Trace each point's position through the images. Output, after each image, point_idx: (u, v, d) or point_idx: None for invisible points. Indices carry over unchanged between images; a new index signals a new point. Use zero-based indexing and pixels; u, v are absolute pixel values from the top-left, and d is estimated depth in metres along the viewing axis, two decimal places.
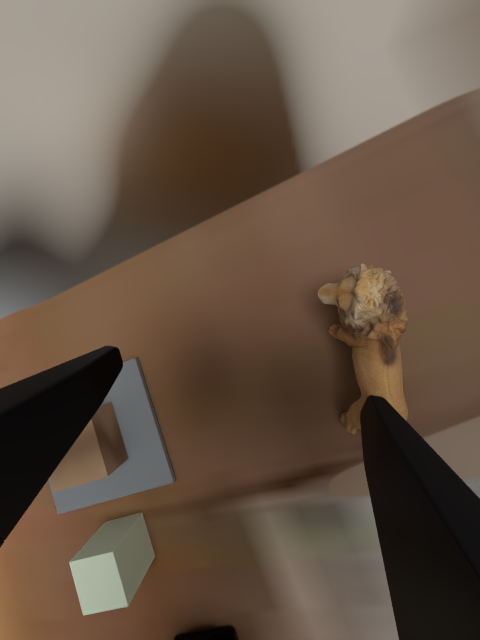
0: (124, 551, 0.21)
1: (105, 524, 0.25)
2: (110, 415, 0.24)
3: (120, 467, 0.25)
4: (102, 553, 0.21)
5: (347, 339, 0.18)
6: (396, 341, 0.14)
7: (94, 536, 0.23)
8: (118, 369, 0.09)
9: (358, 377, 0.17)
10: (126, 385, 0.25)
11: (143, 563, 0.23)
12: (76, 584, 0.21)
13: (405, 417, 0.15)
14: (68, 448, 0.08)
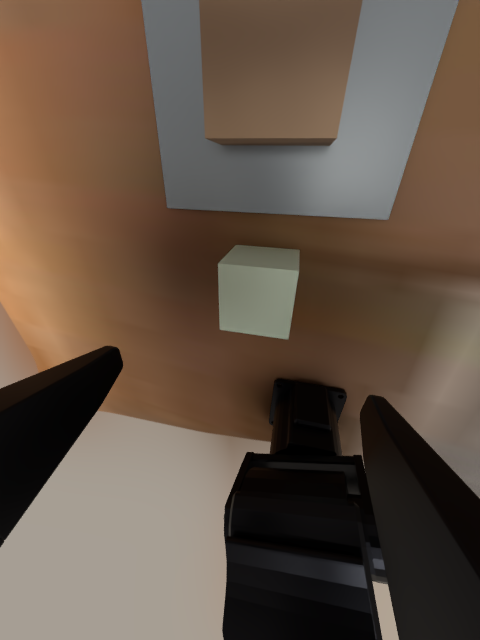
0: None
1: (239, 246, 0.17)
2: None
3: (305, 159, 0.13)
4: (279, 268, 0.13)
5: None
6: None
7: (234, 252, 0.15)
8: (118, 369, 0.09)
9: None
10: None
11: None
12: (220, 294, 0.14)
13: None
14: (68, 448, 0.08)
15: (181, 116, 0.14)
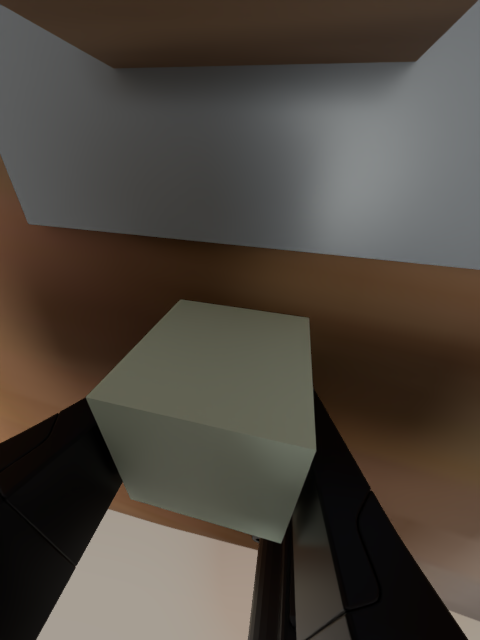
0: None
1: (184, 307, 0.08)
2: None
3: (337, 108, 0.05)
4: (255, 433, 0.04)
5: None
6: None
7: (163, 331, 0.07)
8: None
9: None
10: None
11: None
12: (114, 452, 0.06)
13: None
14: None
15: None
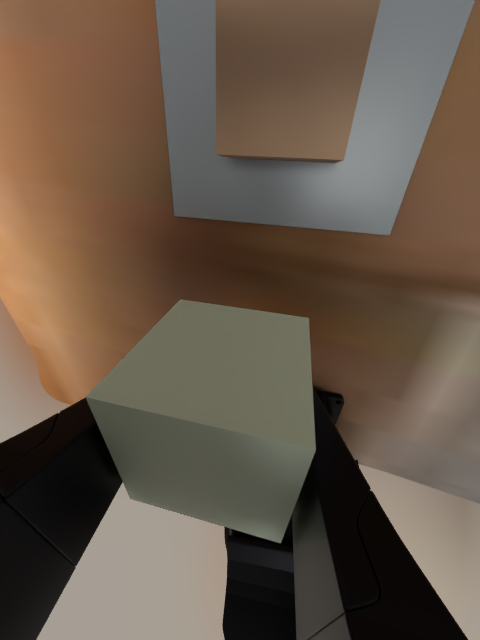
0: None
1: (184, 306, 0.08)
2: None
3: (311, 175, 0.14)
4: (255, 432, 0.04)
5: None
6: None
7: (163, 331, 0.07)
8: None
9: None
10: None
11: None
12: (114, 451, 0.06)
13: None
14: None
15: (191, 128, 0.14)
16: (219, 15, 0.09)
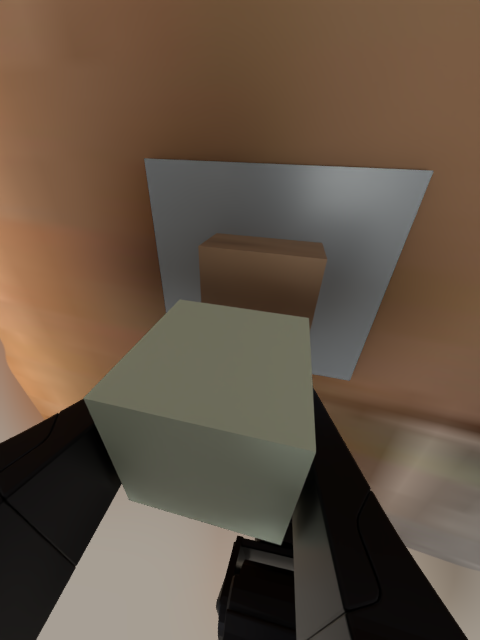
0: None
1: (183, 307, 0.08)
2: None
3: None
4: (255, 434, 0.04)
5: None
6: None
7: (162, 331, 0.07)
8: None
9: None
10: (371, 224, 0.12)
11: None
12: (112, 453, 0.06)
13: None
14: None
15: (184, 298, 0.17)
16: (202, 276, 0.12)
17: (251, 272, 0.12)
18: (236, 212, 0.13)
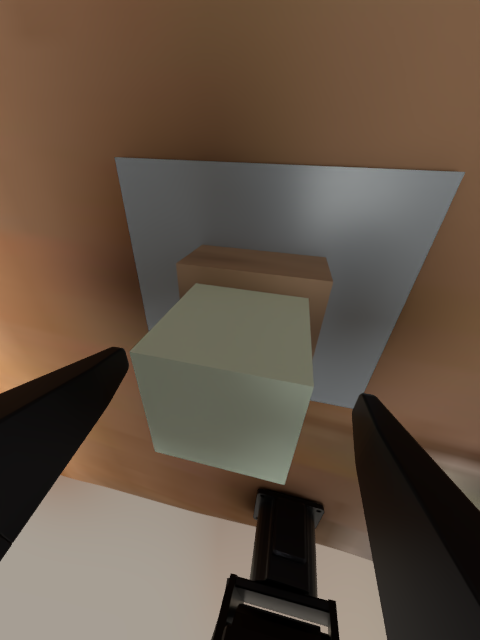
0: None
1: (199, 289, 0.09)
2: None
3: None
4: (266, 375, 0.05)
5: None
6: None
7: (184, 307, 0.08)
8: (124, 370, 0.09)
9: None
10: (385, 236, 0.10)
11: None
12: (146, 403, 0.07)
13: None
14: (74, 450, 0.07)
15: None
16: None
17: None
18: (225, 221, 0.11)
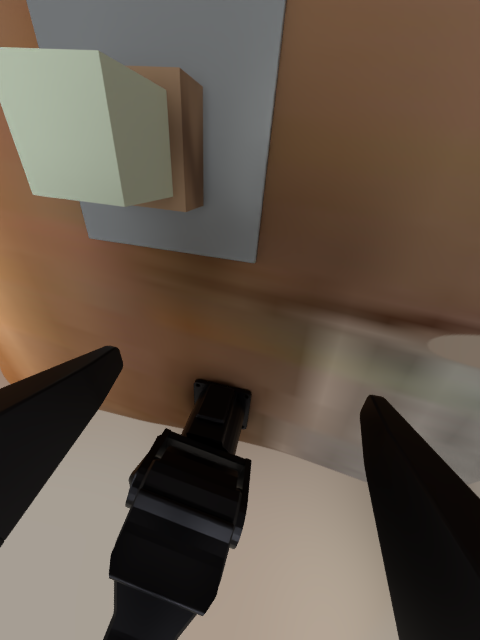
0: (125, 101, 0.09)
1: None
2: (198, 112, 0.13)
3: (187, 213, 0.17)
4: (70, 50, 0.08)
5: None
6: None
7: None
8: (118, 369, 0.09)
9: None
10: (242, 58, 0.12)
11: (155, 180, 0.12)
12: (9, 120, 0.09)
13: None
14: (68, 448, 0.08)
15: None
16: None
17: None
18: (119, 53, 0.13)
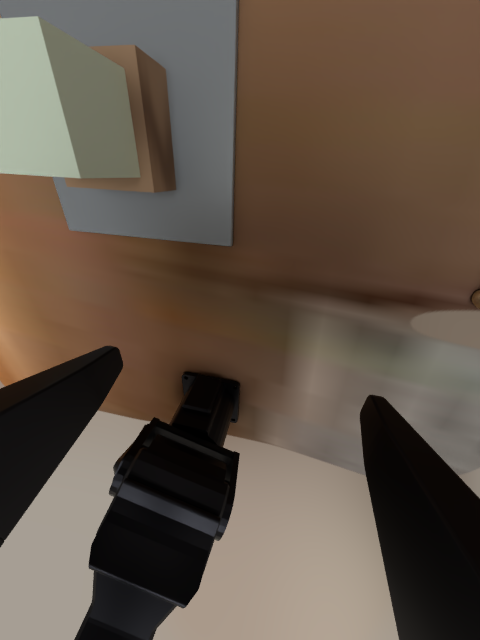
0: (75, 72, 0.09)
1: None
2: (162, 94, 0.13)
3: (161, 199, 0.17)
4: (12, 19, 0.08)
5: None
6: None
7: None
8: (118, 369, 0.09)
9: None
10: (201, 38, 0.12)
11: (117, 157, 0.12)
12: None
13: None
14: (68, 448, 0.08)
15: None
16: None
17: None
18: (84, 41, 0.14)
